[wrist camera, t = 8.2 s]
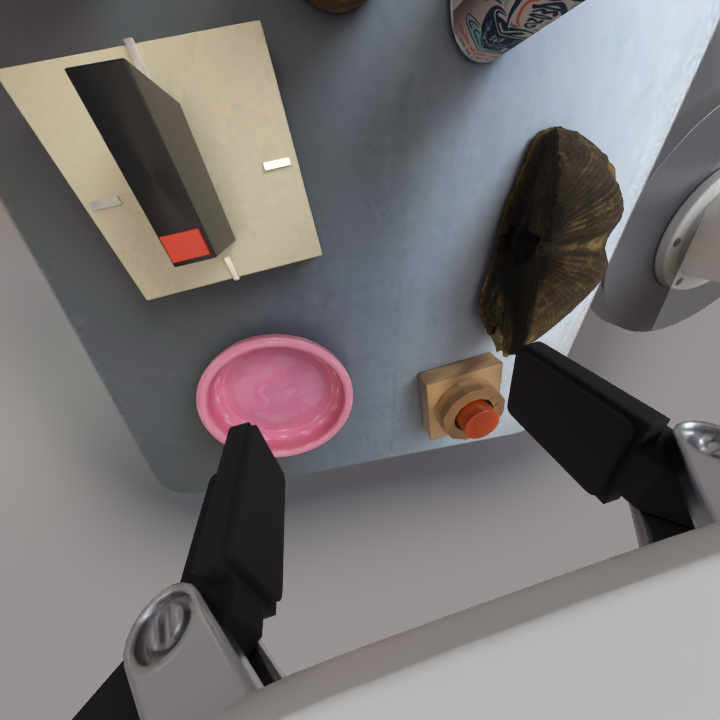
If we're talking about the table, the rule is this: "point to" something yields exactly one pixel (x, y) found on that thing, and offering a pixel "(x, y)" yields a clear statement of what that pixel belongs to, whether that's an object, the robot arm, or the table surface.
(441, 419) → the button block
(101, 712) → the robot arm
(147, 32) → the table surface
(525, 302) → the seashell
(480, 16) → the beer can
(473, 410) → the button
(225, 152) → the cream flat block
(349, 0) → the utensil holder
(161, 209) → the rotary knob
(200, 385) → the saucer
